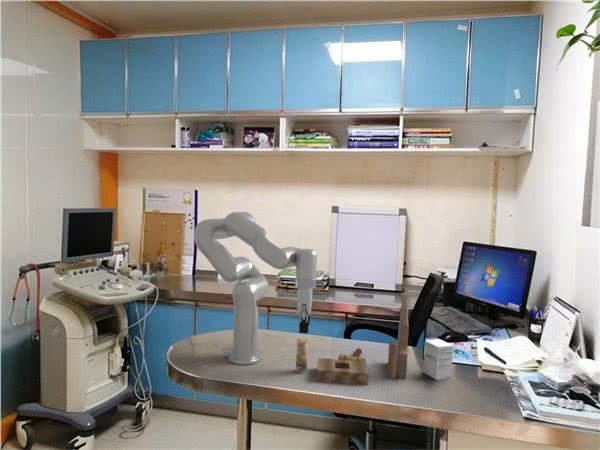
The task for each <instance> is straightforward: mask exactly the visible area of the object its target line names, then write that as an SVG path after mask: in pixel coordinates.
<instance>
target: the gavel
mask: <svg viewBox="0 0 600 450" xmlns="http://www.w3.org/2000/svg"><path fill="white" fill-rule="evenodd" d="M362 351H363V350H362V348H361V347H357V348H356V349H355V351H354V352H353V354H352V355H346V354H345V353H339V354H338V359H337V360H350V361H364V362H366V363H367V361H366V357H362V356H360V355H362V353H363V352H362Z"/></svg>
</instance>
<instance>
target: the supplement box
mask: <svg viewBox="0 0 600 450" xmlns="http://www.w3.org/2000/svg"><path fill="white" fill-rule="evenodd" d="M453 354H454V345H453V344H451V343H449V342H446V341H444V340H443V339H440V338H436V339H430V340H425V346H424V359H423V373H424V374H425V375H427V376H429V377H431V378H432V379H434V380H435V381H440V380H447V379H450V378H452V368H453V367H452V366H453V357H454V355H453Z"/></svg>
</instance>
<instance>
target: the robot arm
mask: <svg viewBox="0 0 600 450" xmlns="http://www.w3.org/2000/svg"><path fill="white" fill-rule="evenodd" d="M266 235H267V231H266V229H265V228H264V227H263V226H261V225H259V224H258V223H256V219H255V217H254V215H252V214H251V213H249V212H246V211H233V212H231V213H229V214H227V215H226V216H225V217H223V218H222V217H221V218H207V219H203V220H201V221H199V222H198V223H197V224H196V226H195V227H194V232H193V237H194V238H193V239H194V243H195V246H196V248H197V249H198V250H199V251H200V253H201V254H202V255H203V256H204V257H205V258H206V259H207V261H208V262H209V263H210V265H211V266H212V267H213V268H214V270H215V271H216V273H218V275H219V276H220V277H221V279H223V280H224V282H226V283H228V284H229V283H235V282H237V283H235V285H234V286H233V289H232V291H231V292H232V293H231V294H232V303H233V330H232V331H233V333H232V345H230V346H225V345H223V346H222V348H221V351H222V352H223V354H228V359H227V360H228V361H229V362H230V363H232V364H236V365H242V366H243V365H246V366H247V365H252V364H255V363H258V362H259V361H260V360H261V354H260V353H259V352H258V331H259V310H258V305H257V301H260V300H262V299H264V298H265V297H266V296H267V295H268V294H269V292H270V285H269V284H270V283H269V282H268V280H267V278H266V277H265V276H264V275H263V274H262V271H260V270H259V269H258V267H256V264H254V262H252V260H250V259H249V258H247V257H245V256H236V257H235V256H233V254H231V252H230V251H229V250H228V249H227V247H225V246H224V245H223V244H222V243H220V242H219V241H218V240H224V239H229V238H233V237H236V238H238V239H239V240H241V241H242V242H244V243H245V244H247V245H248V246H249V247H251V248H252V250H253V252H254V253H255V255H257V257H258V258H259V259H260V260H262V261H263V262H264V263H266V264H268V265H269V266H271V267H272V268H274V269H276V270H285V269H288V268H294V267H295V288H297V296H296V297H297V302H296V315H297V316H300V317H299V326H298V327H299V328H298V329H299V330H298V331H299V334H308V333H309V326H310V320H311V311H312V305H313V290H314V289H315V288H317V265H318V264H317V261H318V253H317V251H316V250H315V249H311V248H299V247H296V246H295V247H294V246H286V247H281V248H280V247H279V246H277V245H275V244H274V243H272V242H271V241H270V240H269V239H268V238H267V237H266Z"/></svg>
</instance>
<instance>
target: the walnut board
mask: <svg viewBox="0 0 600 450" xmlns="http://www.w3.org/2000/svg"><path fill="white" fill-rule="evenodd" d="M316 369H317V370H316V382H326V383H327V382H328V383H338V384H339V383H340V384H353V385H363V386H364V385H366V386H369V376H370V375H369V369H368V365H367V361H366V362H364V361H350V360H338V359H334V358H323V357H321V358H320V357H318V358H317V368H316Z"/></svg>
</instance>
